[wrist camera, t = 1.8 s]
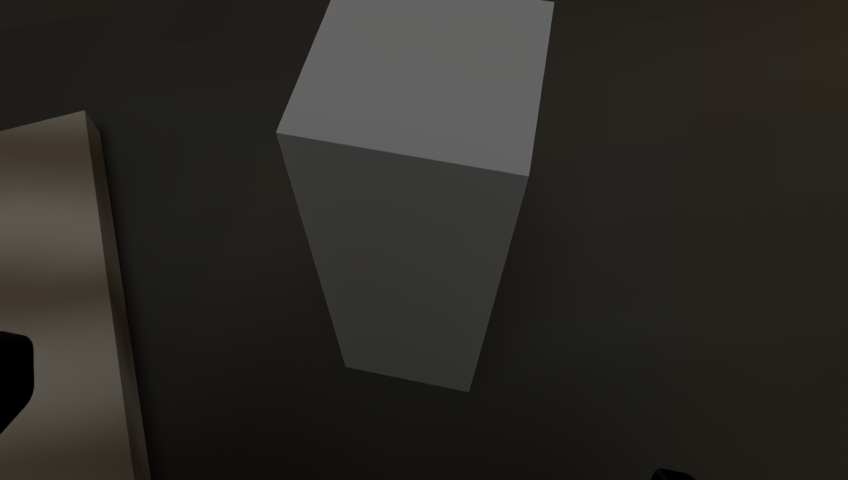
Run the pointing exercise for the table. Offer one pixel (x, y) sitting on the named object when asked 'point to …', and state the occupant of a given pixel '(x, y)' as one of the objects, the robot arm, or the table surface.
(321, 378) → the table surface
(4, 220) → the oak plinth
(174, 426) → the table surface
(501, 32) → the tall grey block
